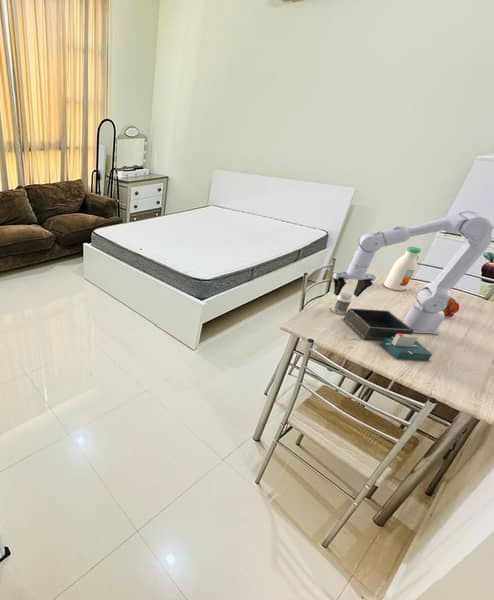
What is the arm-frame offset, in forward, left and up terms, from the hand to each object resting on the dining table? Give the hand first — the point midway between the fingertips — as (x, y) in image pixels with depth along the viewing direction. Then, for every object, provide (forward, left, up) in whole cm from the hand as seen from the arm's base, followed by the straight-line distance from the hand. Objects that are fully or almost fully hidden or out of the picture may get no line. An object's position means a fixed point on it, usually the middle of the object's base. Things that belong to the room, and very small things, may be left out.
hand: (345, 294), depth 130 cm
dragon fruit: (-41, -3, -8) cm, 42 cm away
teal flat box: (-8, +26, -8) cm, 28 cm away
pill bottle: (0, 0, -8) cm, 8 cm away
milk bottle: (-39, -27, -8) cm, 48 cm away
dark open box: (-6, +13, -8) cm, 16 cm away
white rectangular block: (-6, +26, -5) cm, 27 cm away
